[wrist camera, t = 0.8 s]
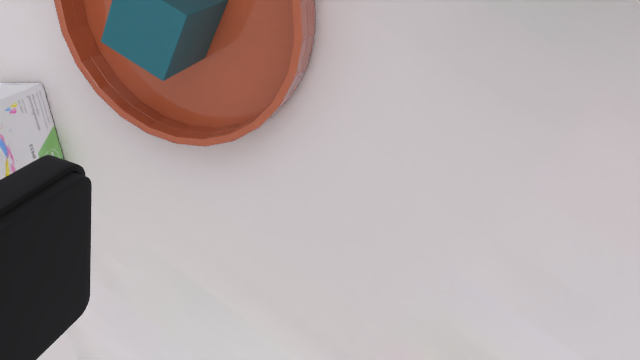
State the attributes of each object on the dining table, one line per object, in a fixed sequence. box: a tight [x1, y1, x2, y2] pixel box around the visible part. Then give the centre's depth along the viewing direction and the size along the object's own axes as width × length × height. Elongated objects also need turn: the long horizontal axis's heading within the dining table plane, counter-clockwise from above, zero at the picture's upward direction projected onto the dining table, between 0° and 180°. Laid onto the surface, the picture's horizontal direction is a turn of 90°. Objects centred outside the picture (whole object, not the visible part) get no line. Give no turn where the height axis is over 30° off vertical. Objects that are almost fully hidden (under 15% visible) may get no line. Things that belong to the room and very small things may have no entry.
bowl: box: [54, 0, 315, 146], centre depth 41 cm, size 19×19×3 cm
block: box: [101, 0, 228, 81], centre depth 39 cm, size 5×5×6 cm
